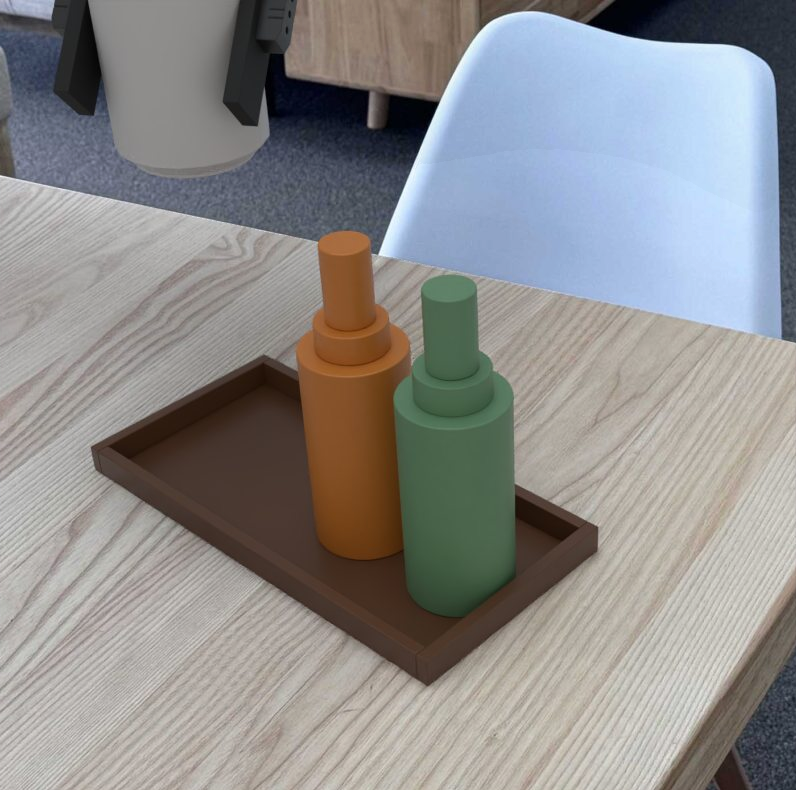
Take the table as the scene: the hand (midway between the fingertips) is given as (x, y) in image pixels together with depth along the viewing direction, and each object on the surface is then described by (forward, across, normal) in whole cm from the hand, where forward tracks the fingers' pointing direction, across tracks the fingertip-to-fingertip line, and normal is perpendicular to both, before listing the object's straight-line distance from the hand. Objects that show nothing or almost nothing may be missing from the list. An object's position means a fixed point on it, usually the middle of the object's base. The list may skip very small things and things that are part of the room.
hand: (156, 108), depth 64 cm
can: (0, 0, +5) cm, 5 cm away
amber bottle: (+17, +9, +13) cm, 23 cm away
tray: (+17, +7, +15) cm, 23 cm away
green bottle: (+19, +15, +11) cm, 27 cm away
